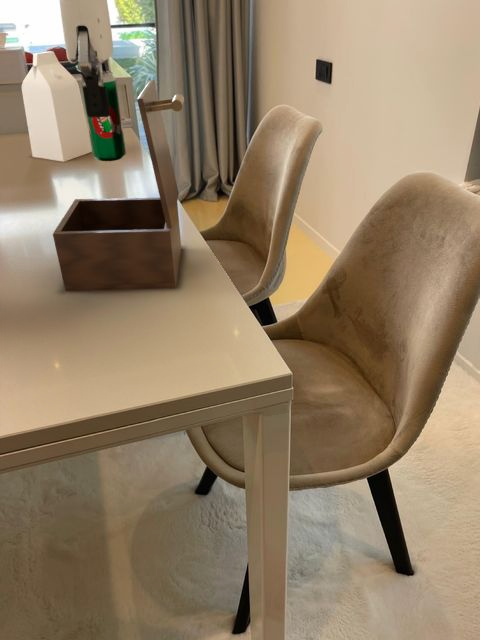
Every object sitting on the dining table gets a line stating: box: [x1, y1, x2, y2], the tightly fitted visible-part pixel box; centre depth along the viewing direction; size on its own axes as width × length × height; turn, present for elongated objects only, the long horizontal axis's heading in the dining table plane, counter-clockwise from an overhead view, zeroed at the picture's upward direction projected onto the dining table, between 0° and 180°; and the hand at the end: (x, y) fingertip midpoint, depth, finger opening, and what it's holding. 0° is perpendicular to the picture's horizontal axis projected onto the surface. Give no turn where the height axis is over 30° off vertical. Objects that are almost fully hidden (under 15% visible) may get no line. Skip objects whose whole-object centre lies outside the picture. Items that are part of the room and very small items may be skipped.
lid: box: [136, 79, 185, 229], centre depth 88 cm, size 19×16×5 cm
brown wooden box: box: [52, 197, 182, 292], centre depth 96 cm, size 18×16×10 cm
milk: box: [21, 50, 92, 163], centre depth 154 cm, size 12×12×26 cm
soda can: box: [80, 70, 127, 162], centre depth 84 cm, size 5×5×12 cm
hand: (102, 111), depth 83 cm, fingers closed on soda can, 5 cm apart
